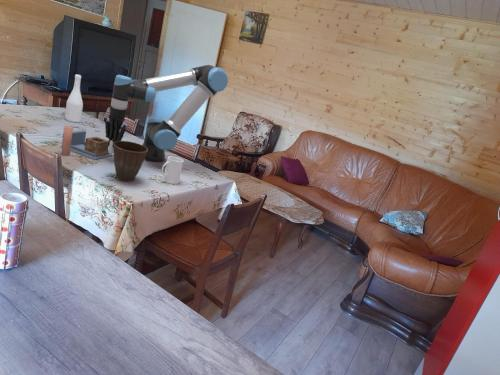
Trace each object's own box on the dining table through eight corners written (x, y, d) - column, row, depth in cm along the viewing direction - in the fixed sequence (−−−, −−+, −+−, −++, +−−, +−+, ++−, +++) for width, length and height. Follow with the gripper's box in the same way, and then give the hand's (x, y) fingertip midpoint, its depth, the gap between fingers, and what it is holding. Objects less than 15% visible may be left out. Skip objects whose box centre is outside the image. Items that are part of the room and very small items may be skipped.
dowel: (71, 154, 172) (74, 127, 168) (65, 156, 169) (69, 128, 165) (65, 152, 173) (68, 125, 169) (59, 153, 170) (62, 125, 165)
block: (107, 154, 184) (109, 141, 182) (97, 156, 177) (99, 143, 175) (94, 149, 186) (96, 136, 184) (84, 151, 178) (85, 138, 176)
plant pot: (147, 183, 165) (154, 152, 160) (118, 185, 154) (124, 151, 149) (131, 171, 174) (136, 141, 169) (102, 172, 162) (107, 140, 157)
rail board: (112, 156, 187) (114, 141, 185) (94, 160, 174) (96, 145, 172) (81, 144, 191) (83, 130, 189) (61, 147, 178) (63, 132, 175)
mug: (163, 185, 169) (168, 162, 165) (153, 178, 174) (158, 155, 170) (182, 183, 178) (187, 161, 175) (172, 177, 183) (177, 155, 179)
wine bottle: (66, 117, 233) (71, 72, 224) (81, 120, 236) (87, 76, 227) (63, 120, 225) (68, 73, 215) (79, 123, 228) (85, 77, 219)
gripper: (134, 111, 174) (126, 155, 181) (112, 103, 176) (105, 147, 183) (125, 111, 167) (117, 157, 174) (102, 103, 169) (95, 149, 176)
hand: (111, 152), depth 179 cm, fingers closed
